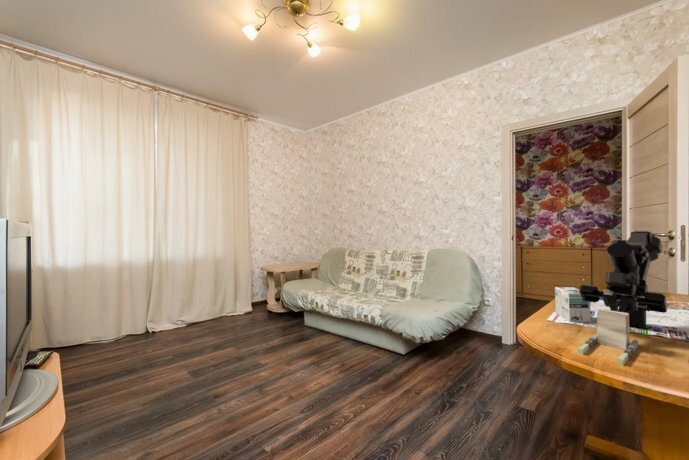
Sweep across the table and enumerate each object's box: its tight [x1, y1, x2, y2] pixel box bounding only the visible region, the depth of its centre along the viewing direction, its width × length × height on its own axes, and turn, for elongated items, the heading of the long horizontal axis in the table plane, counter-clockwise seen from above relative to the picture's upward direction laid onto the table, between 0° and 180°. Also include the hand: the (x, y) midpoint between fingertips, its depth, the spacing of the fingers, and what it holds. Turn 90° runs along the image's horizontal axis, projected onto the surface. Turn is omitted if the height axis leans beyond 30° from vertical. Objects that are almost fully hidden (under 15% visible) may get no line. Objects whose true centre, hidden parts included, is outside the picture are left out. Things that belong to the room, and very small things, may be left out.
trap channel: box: [577, 331, 639, 366], centre depth 83 cm, size 17×9×2 cm, turn 127°
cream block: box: [596, 308, 630, 351], centre depth 86 cm, size 4×6×9 cm, turn 37°
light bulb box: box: [554, 286, 592, 323], centre depth 109 cm, size 11×7×11 cm, turn 168°
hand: (615, 322), depth 87 cm, fingers closed
